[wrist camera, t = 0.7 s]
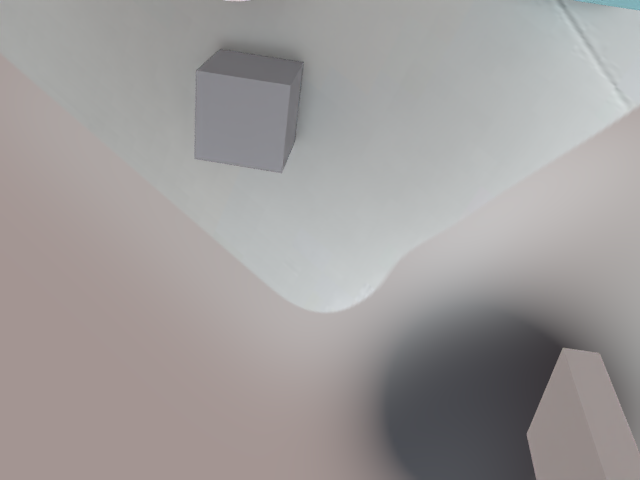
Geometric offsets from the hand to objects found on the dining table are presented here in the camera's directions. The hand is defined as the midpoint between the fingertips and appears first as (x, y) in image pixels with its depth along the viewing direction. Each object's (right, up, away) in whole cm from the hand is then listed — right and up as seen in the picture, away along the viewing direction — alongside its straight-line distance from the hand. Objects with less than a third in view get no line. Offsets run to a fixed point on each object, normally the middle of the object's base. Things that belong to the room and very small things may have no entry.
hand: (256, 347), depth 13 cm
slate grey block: (-2, +11, +23) cm, 26 cm away
